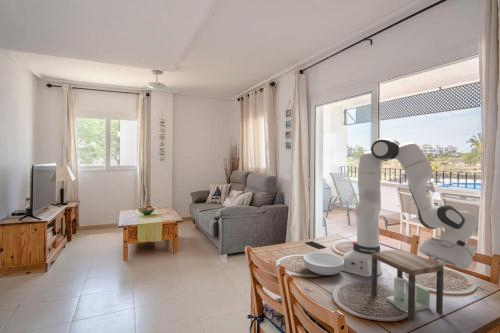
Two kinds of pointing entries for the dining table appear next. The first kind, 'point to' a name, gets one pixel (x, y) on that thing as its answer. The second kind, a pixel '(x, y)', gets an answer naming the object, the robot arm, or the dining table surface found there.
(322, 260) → the serving bowl
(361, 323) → the dining table surface
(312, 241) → the smartphone
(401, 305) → the glasses tray
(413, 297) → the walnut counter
